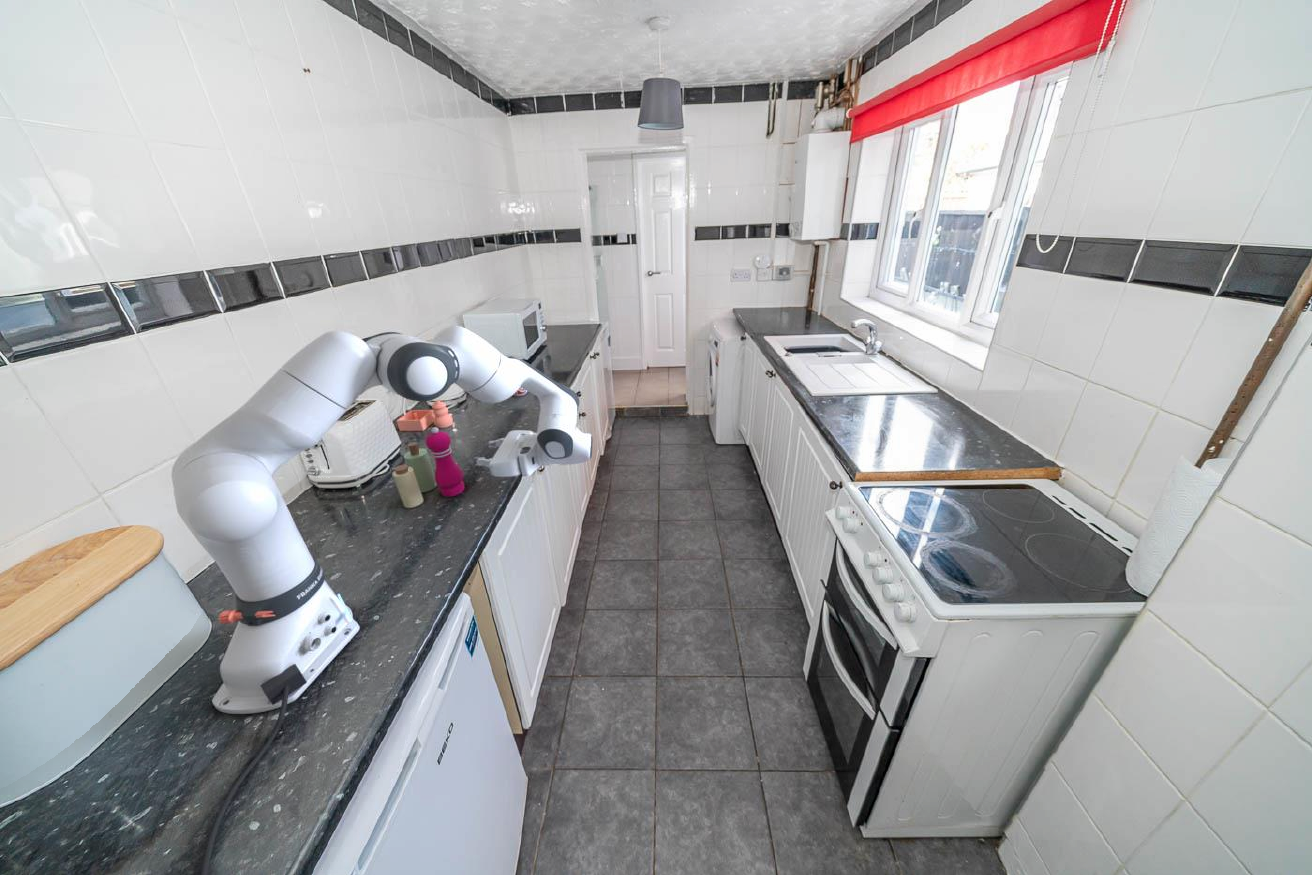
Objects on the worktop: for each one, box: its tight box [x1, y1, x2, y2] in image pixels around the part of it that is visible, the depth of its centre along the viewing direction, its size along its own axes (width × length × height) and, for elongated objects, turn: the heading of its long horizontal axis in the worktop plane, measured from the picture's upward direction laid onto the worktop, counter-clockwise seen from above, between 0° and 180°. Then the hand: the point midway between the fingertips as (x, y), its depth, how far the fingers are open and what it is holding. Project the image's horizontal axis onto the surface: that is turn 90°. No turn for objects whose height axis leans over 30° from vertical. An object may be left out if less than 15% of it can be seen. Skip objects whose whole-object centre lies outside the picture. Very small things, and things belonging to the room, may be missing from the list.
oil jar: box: [403, 441, 438, 493], centre depth 128 cm, size 6×6×14 cm
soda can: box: [512, 386, 528, 397], centre depth 193 cm, size 7×7×13 cm
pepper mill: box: [425, 426, 466, 497], centre depth 124 cm, size 7×7×20 cm
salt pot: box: [391, 464, 425, 509], centre depth 122 cm, size 5×5×11 cm
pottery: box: [396, 399, 454, 432], centre depth 169 cm, size 18×10×10 cm, turn 86°
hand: (483, 453), depth 123 cm, fingers open, 8 cm apart
